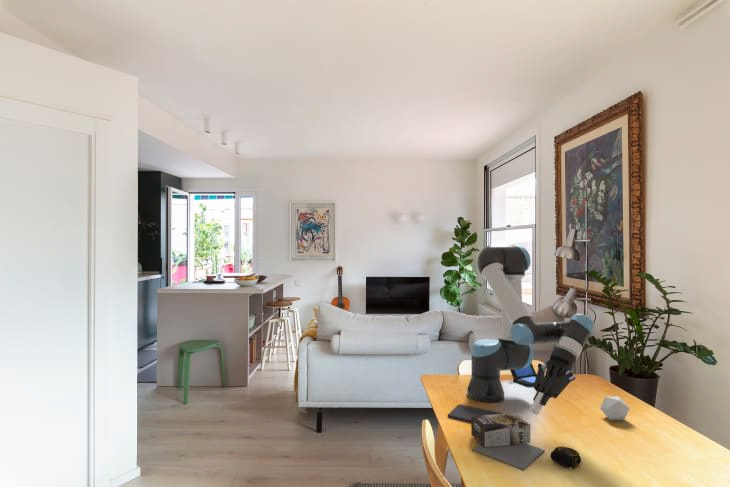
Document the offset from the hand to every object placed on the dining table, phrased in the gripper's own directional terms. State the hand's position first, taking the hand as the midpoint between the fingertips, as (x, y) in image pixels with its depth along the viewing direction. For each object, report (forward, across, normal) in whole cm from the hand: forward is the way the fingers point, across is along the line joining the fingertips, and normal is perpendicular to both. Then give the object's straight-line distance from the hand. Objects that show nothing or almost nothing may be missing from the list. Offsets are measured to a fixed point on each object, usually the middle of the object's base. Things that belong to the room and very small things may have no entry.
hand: (533, 411), depth 129 cm
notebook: (+8, +22, -7) cm, 25 cm away
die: (-23, -2, -38) cm, 44 cm away
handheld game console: (-29, +43, -45) cm, 69 cm away
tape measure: (+10, -14, -5) cm, 17 cm away
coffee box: (+5, +4, -4) cm, 7 cm away
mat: (+15, 0, +2) cm, 15 cm away
